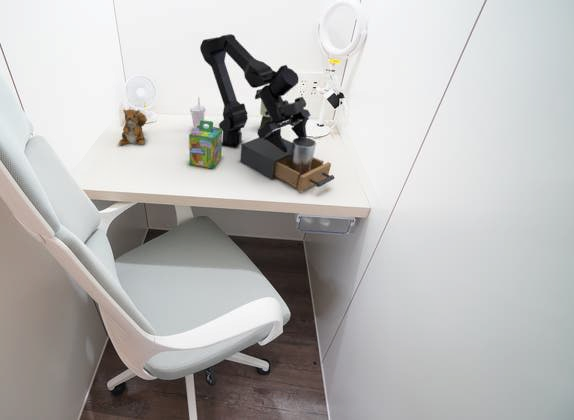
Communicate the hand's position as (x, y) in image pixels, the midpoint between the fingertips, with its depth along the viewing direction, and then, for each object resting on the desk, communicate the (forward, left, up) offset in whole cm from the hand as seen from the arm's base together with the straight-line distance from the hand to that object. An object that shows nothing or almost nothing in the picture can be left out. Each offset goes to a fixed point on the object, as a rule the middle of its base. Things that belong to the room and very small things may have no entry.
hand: (296, 147), depth 101 cm
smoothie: (-45, +20, -10) cm, 50 cm away
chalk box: (-30, -3, -10) cm, 32 cm away
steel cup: (+2, -1, -8) cm, 9 cm away
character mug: (-18, +32, -10) cm, 38 cm away
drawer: (+3, -2, -9) cm, 10 cm away
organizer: (-9, +5, -10) cm, 14 cm away
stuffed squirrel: (-65, +2, -10) cm, 66 cm away
